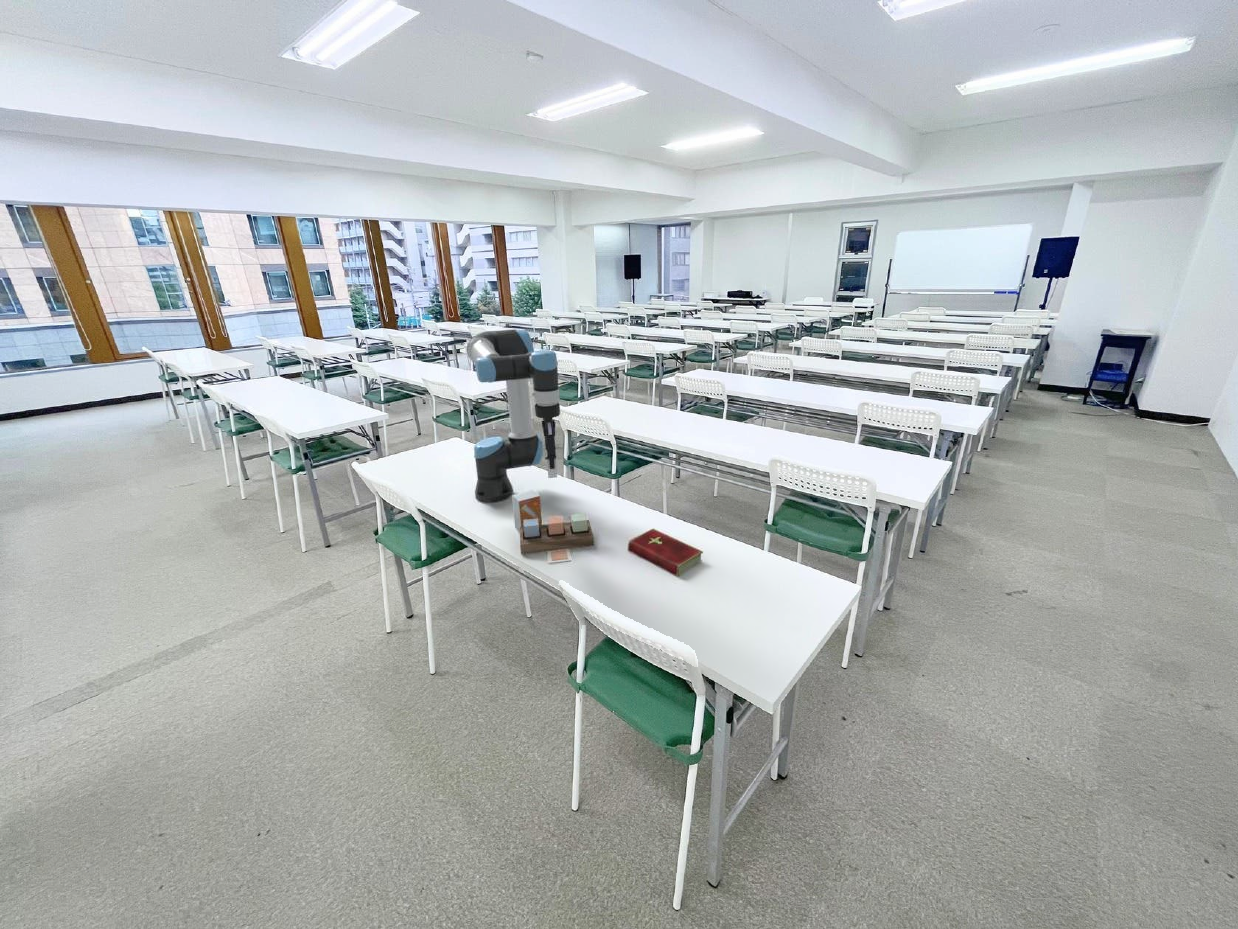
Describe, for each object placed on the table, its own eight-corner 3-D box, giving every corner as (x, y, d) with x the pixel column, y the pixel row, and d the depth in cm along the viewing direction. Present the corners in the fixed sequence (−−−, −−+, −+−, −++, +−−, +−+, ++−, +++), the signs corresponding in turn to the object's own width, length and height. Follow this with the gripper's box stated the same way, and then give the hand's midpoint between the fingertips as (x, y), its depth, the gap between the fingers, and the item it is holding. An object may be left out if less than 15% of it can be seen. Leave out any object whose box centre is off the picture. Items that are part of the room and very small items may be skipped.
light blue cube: (524, 532, 167) (523, 519, 165) (538, 531, 168) (537, 518, 166) (524, 539, 163) (523, 526, 161) (539, 538, 164) (538, 525, 162)
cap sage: (571, 527, 170) (571, 514, 168) (585, 526, 171) (585, 513, 169) (573, 534, 166) (572, 521, 164) (587, 532, 166) (587, 519, 165)
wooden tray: (520, 536, 171) (519, 527, 170) (589, 528, 176) (588, 519, 174) (521, 554, 160) (520, 544, 159) (594, 545, 165) (593, 536, 163)
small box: (521, 535, 172) (518, 501, 167) (514, 527, 177) (511, 494, 172) (543, 528, 176) (540, 495, 171) (535, 521, 181) (532, 489, 176)
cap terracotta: (548, 530, 169) (547, 517, 167) (562, 528, 169) (561, 515, 168) (549, 537, 164) (548, 524, 162) (563, 535, 165) (563, 522, 163)
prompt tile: (547, 552, 161) (547, 550, 161) (568, 549, 163) (568, 548, 162) (548, 563, 155) (548, 562, 155) (571, 561, 156) (571, 559, 156)
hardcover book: (677, 578, 148) (678, 566, 146) (628, 551, 162) (628, 540, 160) (702, 562, 155) (703, 550, 154) (652, 538, 169) (653, 527, 168)
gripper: (533, 396, 158) (538, 464, 167) (535, 411, 141) (541, 486, 150) (556, 395, 159) (561, 462, 168) (562, 410, 142) (566, 483, 151)
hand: (551, 473), depth 159 cm, fingers open, 6 cm apart
